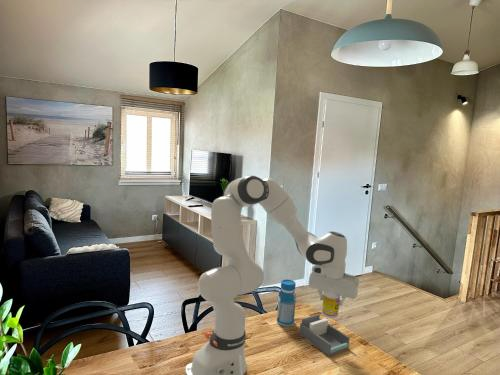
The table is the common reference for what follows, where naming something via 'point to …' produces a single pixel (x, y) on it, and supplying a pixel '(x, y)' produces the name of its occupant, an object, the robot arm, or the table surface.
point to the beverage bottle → (286, 303)
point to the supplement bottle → (330, 303)
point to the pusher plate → (319, 326)
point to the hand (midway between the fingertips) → (331, 302)
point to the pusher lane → (324, 337)
